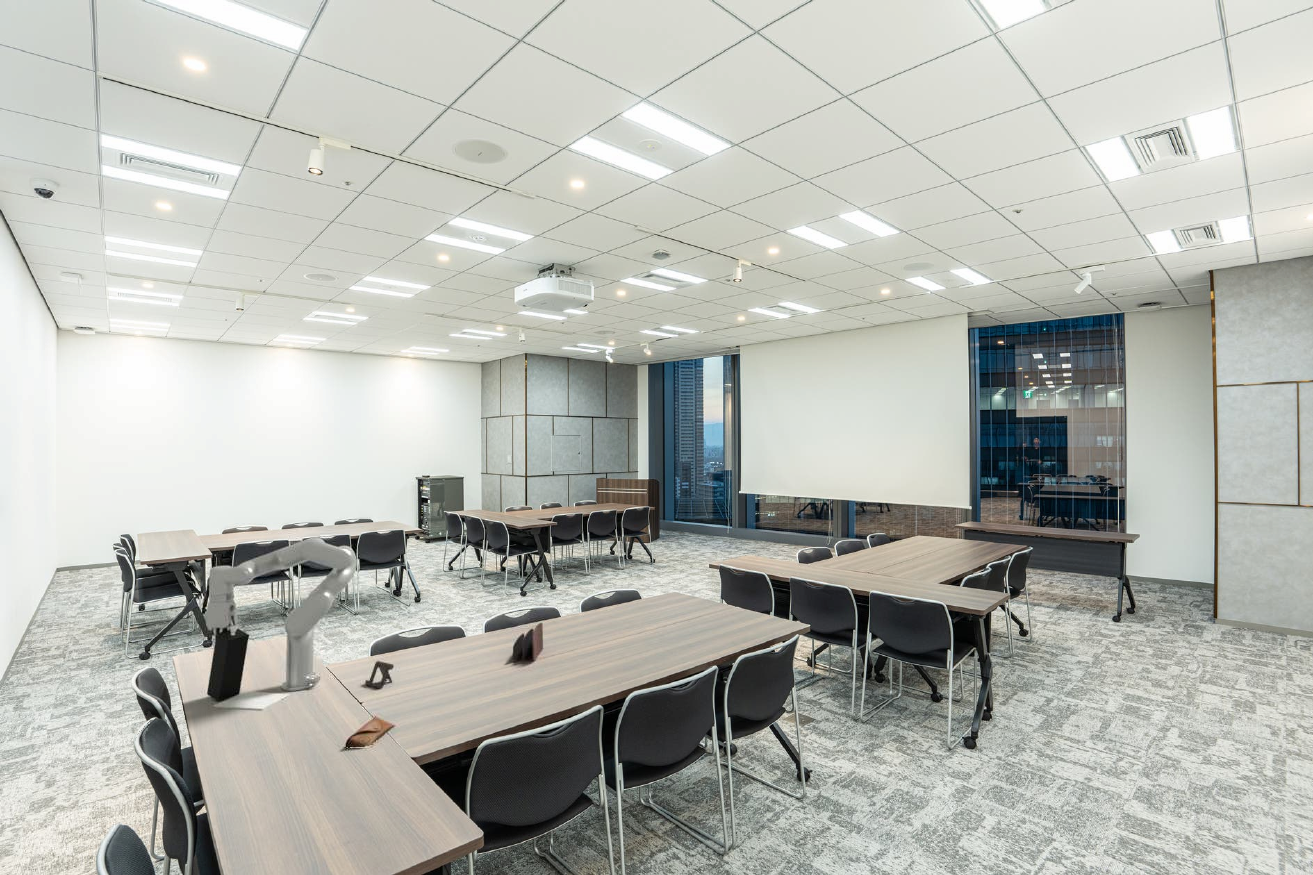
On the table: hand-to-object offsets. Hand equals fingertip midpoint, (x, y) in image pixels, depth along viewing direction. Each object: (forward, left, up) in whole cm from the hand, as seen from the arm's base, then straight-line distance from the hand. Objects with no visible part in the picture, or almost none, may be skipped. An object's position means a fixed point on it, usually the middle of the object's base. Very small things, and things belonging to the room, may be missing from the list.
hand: (220, 644), depth 240 cm
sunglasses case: (-79, +23, -21) cm, 85 cm away
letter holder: (-102, -64, -20) cm, 122 cm away
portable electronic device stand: (-55, -21, -20) cm, 62 cm away
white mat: (-17, +2, -20) cm, 26 cm away
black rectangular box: (-2, 0, -19) cm, 19 cm away
